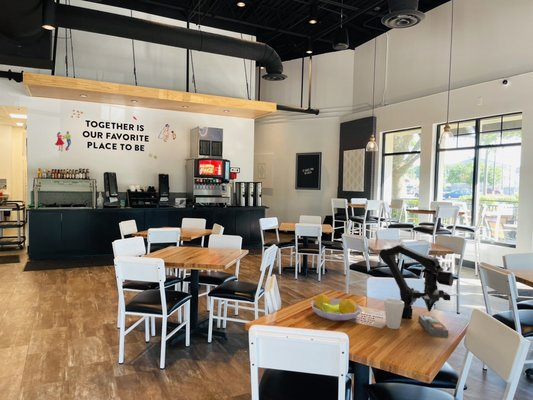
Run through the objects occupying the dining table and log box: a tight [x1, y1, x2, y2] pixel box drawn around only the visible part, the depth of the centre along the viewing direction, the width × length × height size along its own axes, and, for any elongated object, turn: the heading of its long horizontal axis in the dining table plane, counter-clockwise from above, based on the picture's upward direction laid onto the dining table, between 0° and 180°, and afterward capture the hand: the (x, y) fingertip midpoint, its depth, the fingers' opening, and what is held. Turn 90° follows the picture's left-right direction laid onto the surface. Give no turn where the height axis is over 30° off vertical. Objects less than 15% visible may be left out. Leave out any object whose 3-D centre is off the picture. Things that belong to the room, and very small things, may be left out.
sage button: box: [428, 319, 438, 324], centre depth 193 cm, size 4×4×2 cm
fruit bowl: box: [311, 294, 362, 322], centre depth 203 cm, size 28×27×11 cm
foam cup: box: [383, 297, 404, 330], centre depth 193 cm, size 10×9×13 cm
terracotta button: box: [432, 324, 443, 330], centre depth 186 cm, size 4×4×2 cm
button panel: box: [418, 314, 449, 337], centre depth 193 cm, size 8×20×3 cm, turn 174°
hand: (429, 311), depth 199 cm, fingers closed
